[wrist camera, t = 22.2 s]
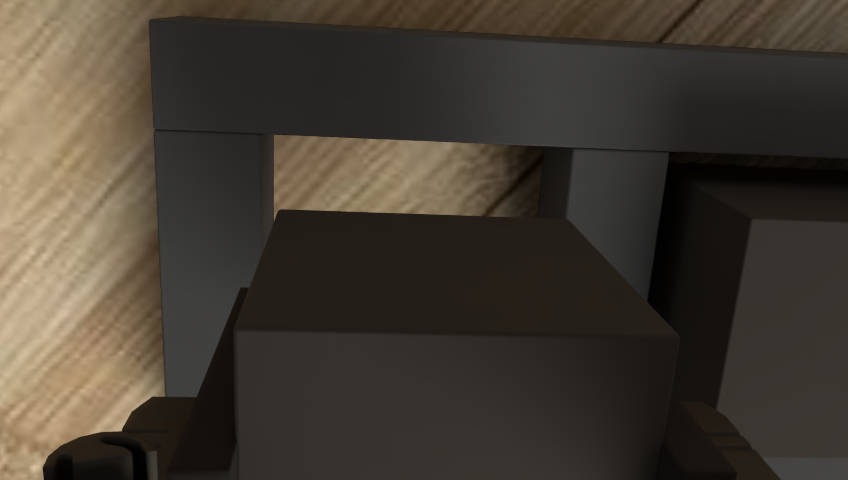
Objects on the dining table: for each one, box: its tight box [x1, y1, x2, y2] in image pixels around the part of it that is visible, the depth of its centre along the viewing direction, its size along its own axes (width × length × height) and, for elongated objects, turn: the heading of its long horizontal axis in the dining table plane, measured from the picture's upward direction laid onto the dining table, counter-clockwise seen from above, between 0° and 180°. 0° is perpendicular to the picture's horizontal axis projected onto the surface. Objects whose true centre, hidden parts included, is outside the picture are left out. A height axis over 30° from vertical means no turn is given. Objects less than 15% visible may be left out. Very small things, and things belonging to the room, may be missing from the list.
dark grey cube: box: [647, 163, 848, 459], centre depth 21 cm, size 6×6×6 cm
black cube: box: [233, 209, 680, 480], centre depth 14 cm, size 6×6×6 cm
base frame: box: [149, 16, 848, 480], centre depth 22 cm, size 13×23×3 cm, turn 87°
